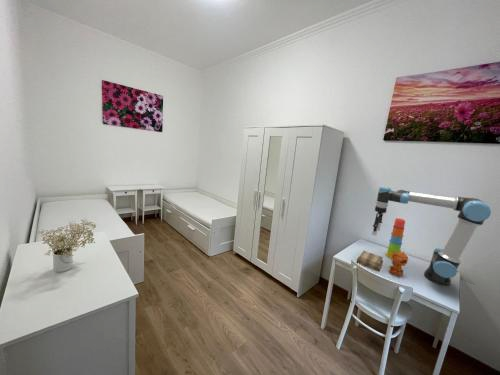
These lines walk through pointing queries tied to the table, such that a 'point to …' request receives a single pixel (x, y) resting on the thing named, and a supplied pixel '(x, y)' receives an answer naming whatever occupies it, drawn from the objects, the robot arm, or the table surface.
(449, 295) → the table surface
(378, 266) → the egg carton
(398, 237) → the stacking cups
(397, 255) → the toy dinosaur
